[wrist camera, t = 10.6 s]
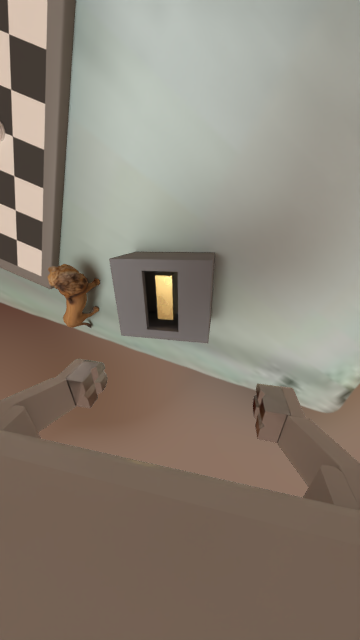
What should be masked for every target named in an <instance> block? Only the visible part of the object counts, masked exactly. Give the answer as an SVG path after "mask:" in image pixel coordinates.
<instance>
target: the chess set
mask: <svg viewBox="0 0 360 640" xmlns="http://www.w3.org/2000/svg"><path fill="white" fill-rule="evenodd" d="M75 4H76V0H0V268H3V269H5V270H7V271H10V272H12V273H14V274H17V275H19V276H21V277H24V278H26V279H28V280H30V281H33V282H35V283H37V284H40V285H42V286H44V287H47V288H49V289H52V288H55V287H54V286H50V284H49V281H48V275H49V274H50V272H49V271H48V268H49V267H52V266H56V267H58V266H59V253H60V238H61V222H62V207H63V191H64V175H65V160H66V144H67V129H68V113H69V97H70V82H71V66H72V51H73V35H74V19H75Z"/></svg>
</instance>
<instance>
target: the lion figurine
mask: <svg viewBox="0 0 360 640" xmlns="http://www.w3.org/2000/svg"><path fill="white" fill-rule="evenodd" d="M48 271H49V272H50V274H49V275H48V281H49V284H50V286H54V287H55V288H56V289H58V290H59V292H60V293H61V294H62V295H64V296H65V297H66V299H67V301H66V304H67V309H66V313H65V314H64V317H63V320H64V322H65V323H66V324H67V326H68V327H76V326H80V325H87V326H88V327H90V328H91V324H89V323H82V322H83V321H84V320H85V319H86V318H88V317H91V316H92V315H93V314H94V313H96V312H98V311H99V308H98V307H96V306H95V307H94V308H93V310H92V311H91V312H90V313H82V311H83V309H84V307H85V305H86V301H87V295H86V293H87V292H89V291H90V290H91V289H92V288H94V287H95V286H97V285H99V284H100V280H99V279H96V278H95V279H94V281H93V282H92V283H88V280H87V278H85V276H84V275H83V274H80V273H79V272H78V271H77V270H76V269H75V268H74V267H72V266H70V265H66V264H63V265H61V266H58V267H56V266H52V267H49V268H48Z"/></svg>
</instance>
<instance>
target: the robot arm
mask: <svg viewBox="0 0 360 640" xmlns="http://www.w3.org/2000/svg"><path fill="white" fill-rule="evenodd" d="M104 369H105V366H104V364H103V363H102V362H96V361H89V360H81V359H76V360H75V361H73V362H72V363H71V364H70V365H69V366H68V367H67V368H66V369H65V370H64V371H63V372H61V373H60V374H59V375H58V376H57V377H56V378H51V379H49V380H47V381H44V382H42V383H40V384H37V385H35V386H33V387H30V388H28V389H26V390H23V391H21V392H19V393H16V394H14V395H12V396H9V397H7V398H5V399H2V400H0V640H360V463H359V462H358V461H357V460H356V459H354V458H353V457H352V456H351V455H350V454H349V453H348V452H347V451H345V450H344V449H343V448H342V447H341V446H340V445H339V444H338V443H336V442H335V441H334V440H333V439H332V438H331V437H329V435H327V434H326V433H325V432H324V431H323V430H322V429H321V428H319V427H318V426H317V425H316V424H315V423H314V422H313V421H311V420H310V419H308V418H306V417H305V415H304V413H303V410H302V408H301V406H300V403H299V401H298V399H297V396H296V394H295V392H294V389H293V388H291V387H282V386H273V385H265V384H257V386H256V394H257V395H255V396H254V399H253V414H254V417H255V418H256V424H255V427H256V433H257V439H261V440H265V441H270V442H275V443H278V445H279V447H280V448H281V450H282V451H283V452H284V454H285V455H286V457H287V458H288V459H289V461H290V462H291V464H292V465H293V466H294V468H295V469H296V470H297V472H298V473H299V474H300V476H301V477H302V479H303V480H304V481H305V483H306V484H307V486H308V487H309V488H308V489H307V491H306V493H305V495H304V496H303V498H302V497H298V496H294V495H289V494H285V493H280V492H276V491H271V490H267V489H262V488H258V487H253V486H249V485H244V484H240V483H236V482H231V481H227V480H222V479H218V478H213V477H209V476H205V475H200V474H196V473H191V472H186V471H182V470H178V469H173V468H169V467H164V466H160V465H156V464H151V463H147V462H142V461H137V460H133V459H129V458H124V457H120V456H115V455H111V454H107V453H102V452H98V451H93V450H89V449H84V448H80V447H75V446H71V445H66V444H62V443H58V442H53V441H48V440H44V439H41V437H40V435H39V433H38V432H40V431H41V430H43V429H44V428H46V427H47V426H49V425H50V424H51V423H53V422H54V421H56V420H57V419H59V418H60V417H62V416H63V415H65V414H66V413H67V412H69V411H70V410H72V409H73V408H75V407H76V406H79V407H85V408H91V407H92V405H93V404H94V402H95V401H96V400H97V398H98V395H97V394H99V393H101V392H102V391H103V390H104V388H105V387H106V384H107V375H106V373H105V372H104Z"/></svg>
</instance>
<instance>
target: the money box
mask: <svg viewBox="0 0 360 640" xmlns="http://www.w3.org/2000/svg"><path fill="white" fill-rule="evenodd" d="M109 260H110V266H111V273H112V279H113V285H114V292H115V298H116V304H117V310H118V317H119V323H120V329H121V335H123V336H134V337H145V338H156V339H167V340H178V341H189V342H200V343H208V339H209V331H210V322H211V309H212V293H213V277H214V261H215V253H206V252H133V253H129V254H125V255H122V256H118V257H114V258H110V259H109ZM161 271H168V272H178V312H177V314H176V316H175V317H174V319H173V320H165V319H158V311H157V296H156V280H155V275H157V274H158V273H159V272H161Z"/></svg>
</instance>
